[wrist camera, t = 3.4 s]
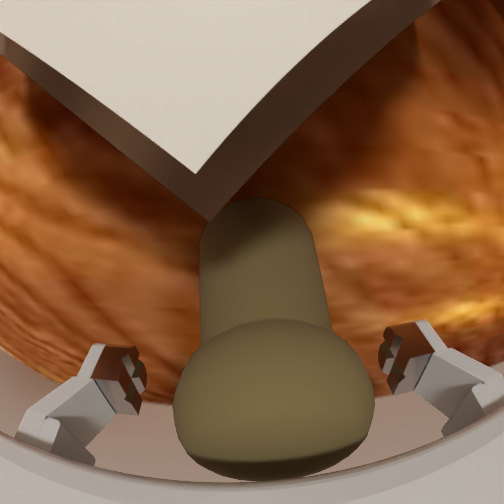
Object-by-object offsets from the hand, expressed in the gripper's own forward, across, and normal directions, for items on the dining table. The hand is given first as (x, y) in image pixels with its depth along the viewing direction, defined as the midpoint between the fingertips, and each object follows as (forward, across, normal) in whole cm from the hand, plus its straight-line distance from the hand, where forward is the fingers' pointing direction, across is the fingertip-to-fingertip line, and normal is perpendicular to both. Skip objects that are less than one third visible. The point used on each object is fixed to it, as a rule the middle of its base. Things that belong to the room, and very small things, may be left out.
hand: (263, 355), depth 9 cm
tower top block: (+3, +1, -14) cm, 15 cm away
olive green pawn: (+7, 0, 0) cm, 7 cm away
